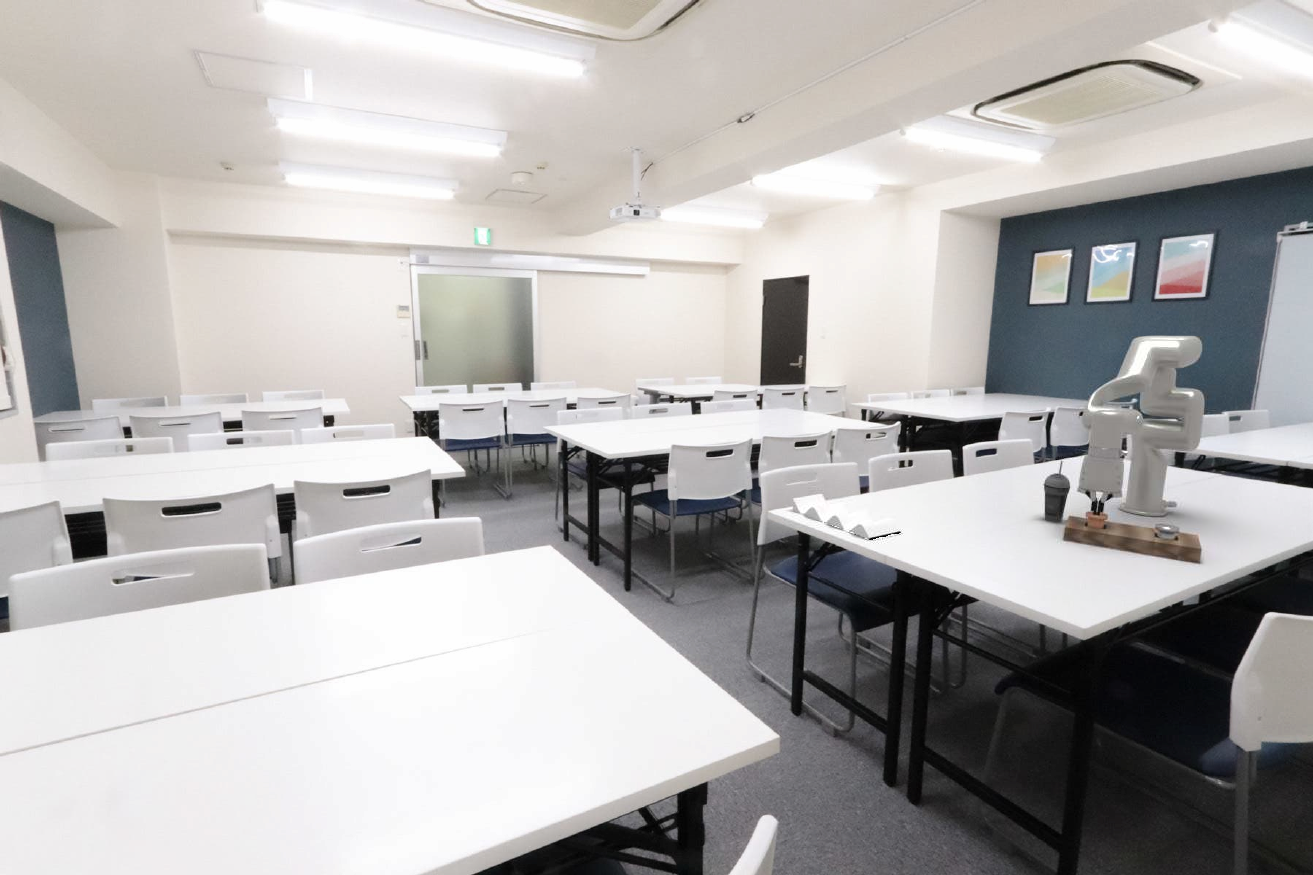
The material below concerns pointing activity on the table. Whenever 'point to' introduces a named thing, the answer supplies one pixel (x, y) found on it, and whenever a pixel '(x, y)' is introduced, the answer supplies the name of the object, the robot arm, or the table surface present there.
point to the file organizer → (844, 517)
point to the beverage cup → (1055, 496)
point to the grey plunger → (1167, 531)
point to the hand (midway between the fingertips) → (1096, 514)
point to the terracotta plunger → (1096, 520)
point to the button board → (1133, 539)
